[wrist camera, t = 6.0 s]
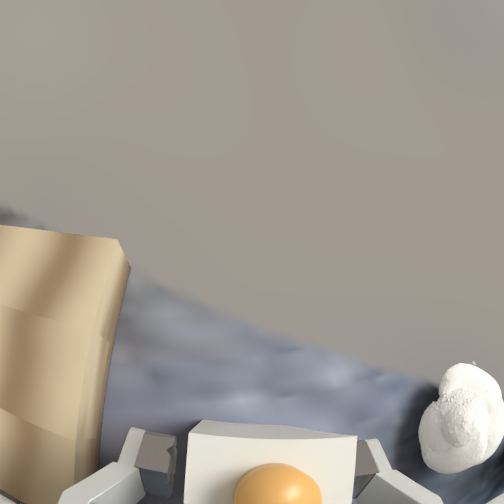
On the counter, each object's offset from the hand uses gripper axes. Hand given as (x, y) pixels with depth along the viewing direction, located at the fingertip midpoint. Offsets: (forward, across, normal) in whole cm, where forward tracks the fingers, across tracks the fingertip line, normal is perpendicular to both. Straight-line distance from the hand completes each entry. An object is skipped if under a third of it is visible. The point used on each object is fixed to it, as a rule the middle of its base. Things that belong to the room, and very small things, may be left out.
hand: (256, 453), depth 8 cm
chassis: (+4, +16, +2) cm, 17 cm away
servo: (+3, 0, +4) cm, 5 cm away
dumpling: (+4, -12, +3) cm, 13 cm away
